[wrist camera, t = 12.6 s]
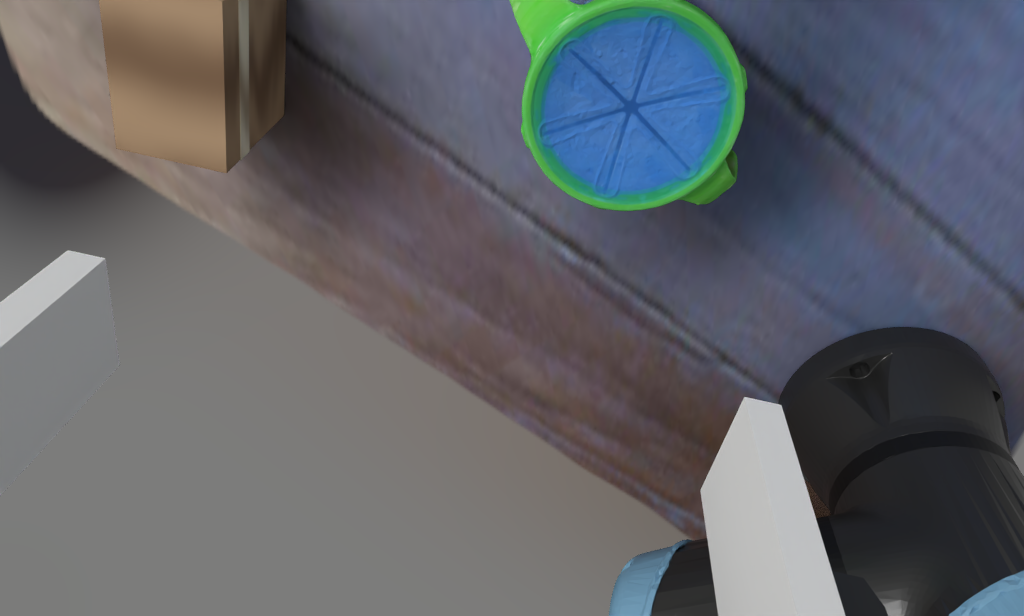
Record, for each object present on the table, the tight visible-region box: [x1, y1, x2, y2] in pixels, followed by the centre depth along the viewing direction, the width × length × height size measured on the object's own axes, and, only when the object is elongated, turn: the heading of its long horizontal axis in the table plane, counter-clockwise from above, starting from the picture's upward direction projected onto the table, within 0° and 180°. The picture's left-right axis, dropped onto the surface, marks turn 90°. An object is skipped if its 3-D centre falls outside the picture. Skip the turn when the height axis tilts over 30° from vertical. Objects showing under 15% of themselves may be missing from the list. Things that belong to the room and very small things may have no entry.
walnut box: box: [99, 0, 287, 173], centre depth 41 cm, size 9×6×9 cm
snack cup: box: [510, 0, 748, 211], centre depth 39 cm, size 16×10×10 cm
